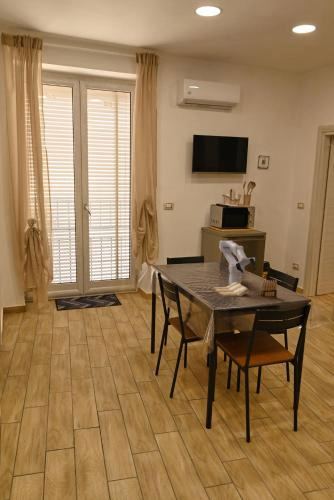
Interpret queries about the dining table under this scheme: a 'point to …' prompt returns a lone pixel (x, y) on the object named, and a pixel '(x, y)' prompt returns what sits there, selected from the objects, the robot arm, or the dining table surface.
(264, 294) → the ammunition clip
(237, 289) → the ash plank
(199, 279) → the dining table surface
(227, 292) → the laid oak boards
